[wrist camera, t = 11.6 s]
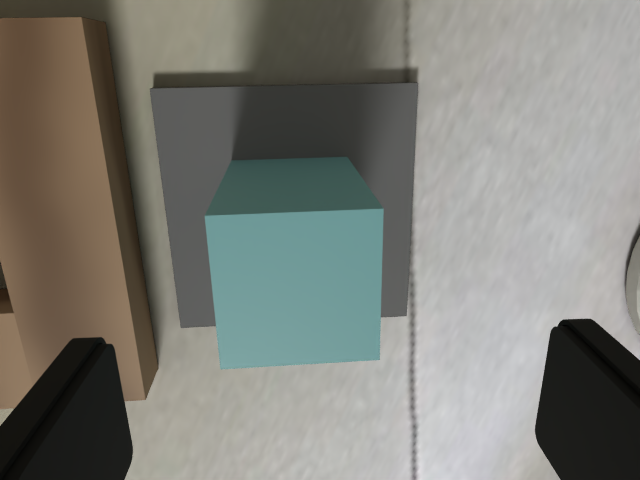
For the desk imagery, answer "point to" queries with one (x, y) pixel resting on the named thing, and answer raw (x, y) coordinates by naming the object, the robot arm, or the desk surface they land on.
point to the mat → (282, 143)
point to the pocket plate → (66, 208)
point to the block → (295, 263)
